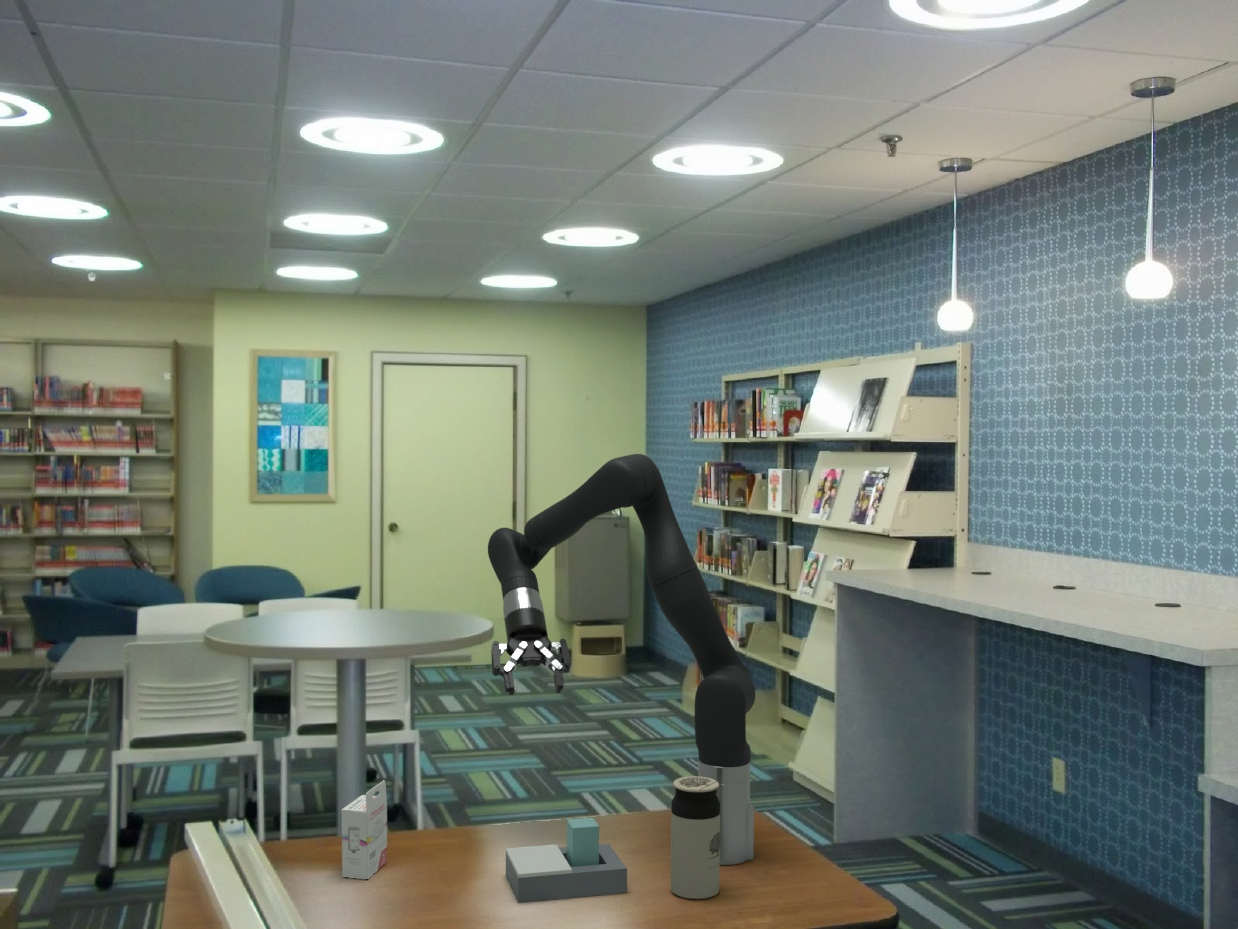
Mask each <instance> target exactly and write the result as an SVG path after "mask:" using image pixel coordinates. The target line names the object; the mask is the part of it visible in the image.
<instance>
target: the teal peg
mask: <svg viewBox="0 0 1238 929" xmlns="http://www.w3.org/2000/svg"><path fill="white" fill-rule="evenodd" d="M599 844H600V825H599V824H598V823H597V821H596V820H595V819H594V817H584V818H583V817H582V818H570V819H569V818H567V819H566V847H567V862H568V864H569V865H570V867H576V866H588V865H599Z"/></svg>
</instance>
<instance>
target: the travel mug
mask: <svg viewBox="0 0 1238 929" xmlns="http://www.w3.org/2000/svg"><path fill="white" fill-rule="evenodd" d="M672 785H673V786H674V790H675V794H674V796H673V798H672V800H671V810H670V811H671V812H670V813H671V815H670V816H671V818H670V819H671V821H670V822H671V827H670V828H671V829H670V891H671V892H672V893H673V894H675V895H676V896H678V897H680V898H684V899H687V900H705V899H708V898H712V897H714V896H716V895H718V893H719V892H720V865H719V862H720V801H719V799H718V797H717V795H716V793H717V788H718V787H719V783H718V782H717V781H716V780H714V779H711V778H707V777H698V775H697V776H695V775H694V776H683V777H679V778H676V779H675V780H674V781H673V784H672Z"/></svg>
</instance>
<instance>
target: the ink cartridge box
mask: <svg viewBox="0 0 1238 929" xmlns="http://www.w3.org/2000/svg"><path fill="white" fill-rule="evenodd" d="M376 792H377V793H378V794H377V795H375V794H376ZM340 811H341V863H342V864H341V865H342V866H341V869H342V871H341V875H342V876H341V877H349V878H348V879H353V878H356V879H355V880H365V879H368V880H369V879H370V878H372V877H373V876H374V875H373V874H374V873H375V874H376V873H377V872H378V871H379V870H380V869H382V867H384V866H385V865H386V863H387V862H388V797H387V786H386V780H385V779H383V780H382V781H381V782H379V783H378V784H376V785H375V786H373V787H372V788H371V789H369V790H368V791H366V793H365V794H361V795H360V796H358V797H357V798H356V799H355V800H353V801H352V802H350V803H349V804H347V805H346V806H344V807H343V808H341V810H340Z"/></svg>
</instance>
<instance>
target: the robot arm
mask: <svg viewBox="0 0 1238 929" xmlns="http://www.w3.org/2000/svg"><path fill="white" fill-rule="evenodd" d="M631 507H632V508H633V509H634V512H635V513H636V515H637V516H636V517H637V518H638V520H639V522H640V525H641V527H642V531H643V534H644V537H645V566H646V575H647V579H648V583H649V585H650V588H651V590H652V593H653V595H654V597H655V599H656V602H657V604H658V606H659V608H660V610H661V612H662V614H663V616H664V617H665V618H666V620H667V622H669V624H670V625H671V626H672V628H673V629H674V630H675V631H676V632H677V634H678V635H679V636H680V637H681V638H682V639H683V641H684V642H685V643H686V644H687V646H688V647H689V649H690V650H691V652H692V654H693V656H694V658H695V660H696V663H697V665H698V668H699V670H700V673H701V675H702V678H703V679H702V680H701V681H700V682H699V684H698V685H697V688H696V691H695V697H694V738H695V740H694V741H695V745H696V748H697V751H698V752H697V753H698V760H697V762H698V764H697V765H698V768H697V769H698V770H697V776H698V777H707V778H711V779H714V780H716V781H717V782H718V783H719V787H718V788H717V793H716V795H717V797H718V799H719V801H720V862H719V866H721V865H722V866H725V865H726V866H729V865H739V864H741V863H744V862H747V861H751V860H752V861H753V860H754V843H755V841H754V840H755V836H754V834H755V831H754V829H755V828H754V826H755V824H754V822H755V820H754V819H755V807H754V805H753V804H752V803H751V757H752V756H751V746H750V744H749V743H748V742H747V736H746V735H747V732H746V731H747V728H746V727H747V726H746V724H747V720H746V719H747V717H746V716H747V715H746V714H747V713H748V712H750V710H751V709H752V708H753V706H754V704H755V701H756V687H755V683H754V681H753V679H752V677H751V675H750V673H749V672H748V669H747V668H746V666H745V665H744V663H743V661H742V660H741V658H740V657H739V654H738V653H737V651H736V649H735V648H734V646H733V644H732V642H731V641H730V638H729V636H728V634H727V632H726V629H725V628H724V625H723V623H722V620H721V617H720V614H719V612H718V611H717V608H716V605H715V603H714V601H713V599H712V597H711V595H710V592H709V589H708V587H707V584H706V582H705V579H704V578H703V575H702V573H701V571H700V569H699V567H698V565H697V563H696V561H695V559H694V557H693V554H692V552H691V551H690V548H689V546H688V543H687V540H686V538H685V537H684V536H685V535H684V533H683V532H682V530H681V527H680V524H679V522H678V520H677V517H676V515H675V512H674V509H673V507H672V504H671V501H670V497H669V495H668V492H667V489H666V485H665V482H664V480H663V476H662V475H661V472H660V470H659V468H658V467H657V465H656V464H655V462H654V461H653V460H652V458H650V457H649V456H647V455H645V454H643V453H633V454H632V453H631V454H628V455H624V456H623V455H622V456H619V457H618V456H617V457H615V458H612V459H609V460H608V461H606V463H604V464H603V465H602V466H601V467H599V469H597V470H596V471H595V472H594V473H593V474H592V475H591V476H590V477H589V478H588V479H587V480H586V481H584V482H583V484H581V485H580V486H579V487H578V488H577V489H575V490H574V491H572V493H570V494H568V495H567V496H565V497H563V498H562V499H561V500H559V501H557V502H555V503H553V504H552V505H551V506H549V507H547V508H545V509H544V510H542V511H541V512H538V514H536V515H535V516H533V517H532V518H530V519H529V520H527V522H526V523H525V525H524V529H523V532H524V533H521V532H519V531H516V530H515V529H512V528H510V527H500V528H498V529H495V531H494V532H492V534H491V536H490V538H489V539H488V544H487V556H488V559H489V562H490V565H491V567H492V569H493V571H494V573H495V575H496V576H495V577H496V578H497V579H498V582H499V584H500V588H501V594H502V601H503V602H502V603H503V605H502V606H503V608H502V610H503V621H504V626H505V634H506V640H507V643H500V642H499V641H498V640H494V641H493V642H492V645H491V650H490V653H491V657H490V658H491V673H492V675H493V676H494V677H495V676H496V677H497V676H501V678H503V685H504V691H505V692H506V693H508V696H514V695H515V694H514V693H515V682H514V675H513V673H514V672H515V670H516V669H517V668H518V666H519V665H520V666H521V667H523V668H524V667H528V666H532V667H539V666H540V665H541V666H542V667H543V668H545V670H547V671H550V673H551V674H553V676H552V678H553V682H554V683H553V684H554V688H555V689H554V690H555V693H556V694H561V691H563V688H564V686H565V679H564V674H568V673H569V672H570V670H571V666H572V664H573V663H572V660H571V659H572V658H571V655H570V652H569V647H568V643H567V640H566V639H565V638H560V640H559V641H553V642H552V641H551V640H550V639H549V636H548V629H547V624H546V623H547V622H546V617H545V612H544V610H545V609H544V605H543V602H542V599H541V596H540V588H539V584H538V582H539V581H538V578H537V575H536V573H535V572H534V571H533V569H534V568H536V567H537V566H538V565H539V563H540V562H541V561H542V560H543V559H544V558H545V556H547V554H548V553H549V552H550V550H552V549H553V548H555V547H557V546H558V545H560V544H561V543H563V542H565V541H566V540H568V539H570V538H571V537H573V536H574V535H575V534H577V533H578V532H579V531H580V530H581V529H582V528H583V527H584V526H585V525H586V524H587V523H588V522H590V521H592V520H593V519H595V518H597V517H599V516H601V515H603V514H606V513H609V512H612V511H615V510H618V509H624V508H625V509H626V508H631ZM552 650H554V652H555V654H556V655H558V656H559V660H560V661H558V659H556V657H555V655H554V654H553V653H552V652H551V651H552ZM505 652H506V653H507V654H508V655H509V656H510V658H509V660H508V661H507V663H506V664H505V666H504V665H503V664H502V665H501V657H503V654H504V653H505Z"/></svg>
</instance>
